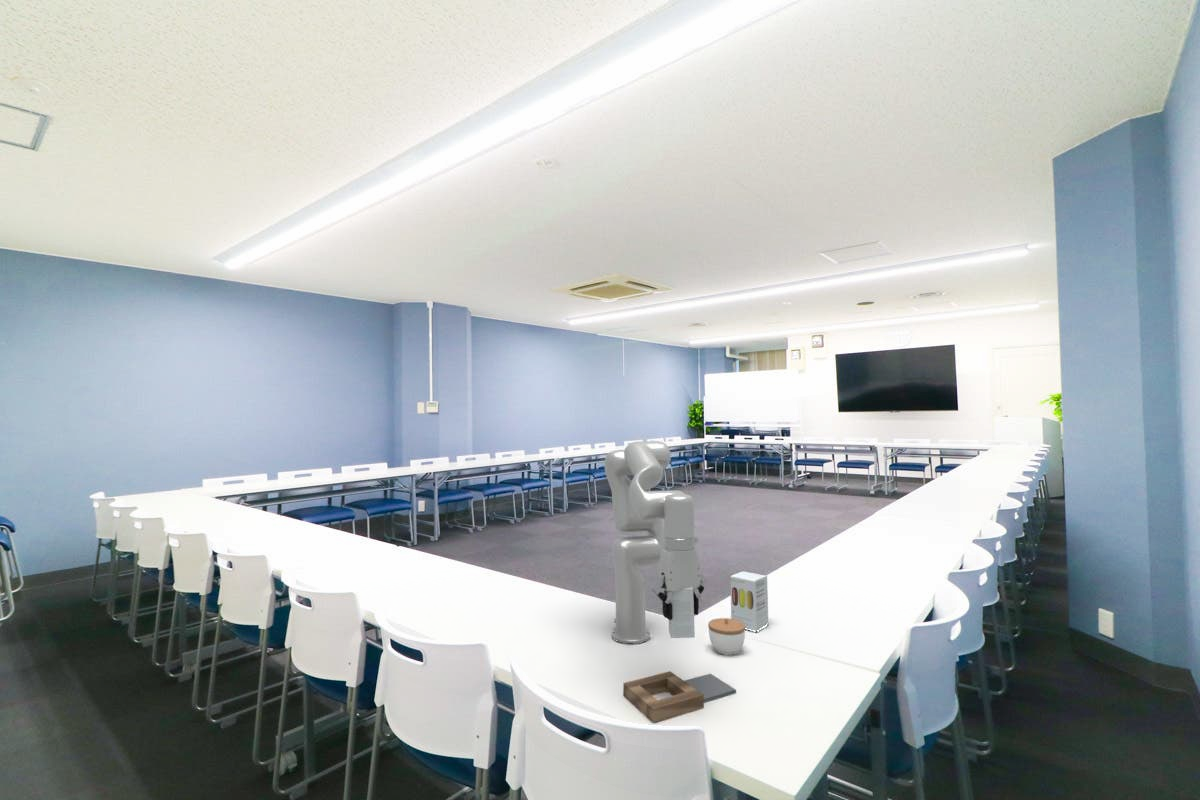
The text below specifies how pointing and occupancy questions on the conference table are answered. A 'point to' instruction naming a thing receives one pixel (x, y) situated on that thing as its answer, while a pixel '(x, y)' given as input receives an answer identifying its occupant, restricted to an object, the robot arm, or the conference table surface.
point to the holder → (665, 708)
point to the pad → (711, 687)
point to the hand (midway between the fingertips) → (680, 615)
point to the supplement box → (749, 599)
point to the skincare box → (682, 614)
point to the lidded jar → (726, 635)
